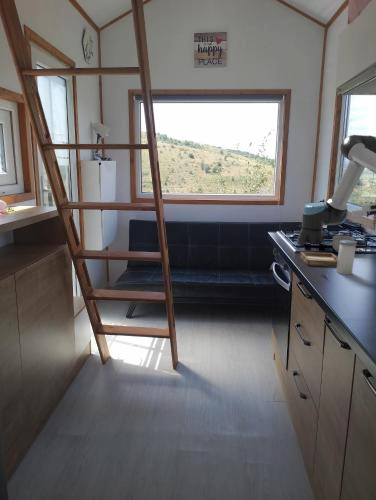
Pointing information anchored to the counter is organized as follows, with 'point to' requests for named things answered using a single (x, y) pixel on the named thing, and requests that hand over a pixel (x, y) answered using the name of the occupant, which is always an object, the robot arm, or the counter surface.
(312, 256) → the tray
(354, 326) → the counter surface
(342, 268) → the canister
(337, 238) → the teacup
